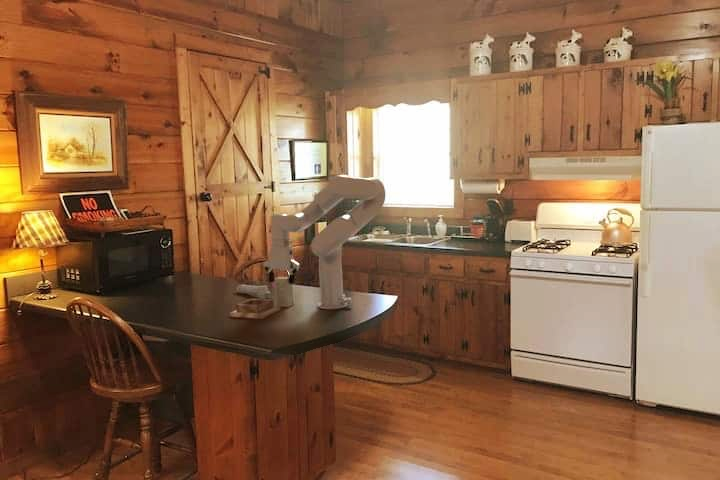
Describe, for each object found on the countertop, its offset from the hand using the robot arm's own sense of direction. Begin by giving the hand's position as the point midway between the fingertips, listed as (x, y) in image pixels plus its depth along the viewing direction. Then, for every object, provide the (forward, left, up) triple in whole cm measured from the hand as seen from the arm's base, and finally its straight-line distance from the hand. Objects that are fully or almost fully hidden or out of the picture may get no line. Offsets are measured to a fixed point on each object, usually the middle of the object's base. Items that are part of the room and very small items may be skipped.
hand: (281, 282), depth 257 cm
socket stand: (+5, +14, -10) cm, 18 cm away
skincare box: (-1, 0, -10) cm, 10 cm away
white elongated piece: (+24, -15, -11) cm, 30 cm away
